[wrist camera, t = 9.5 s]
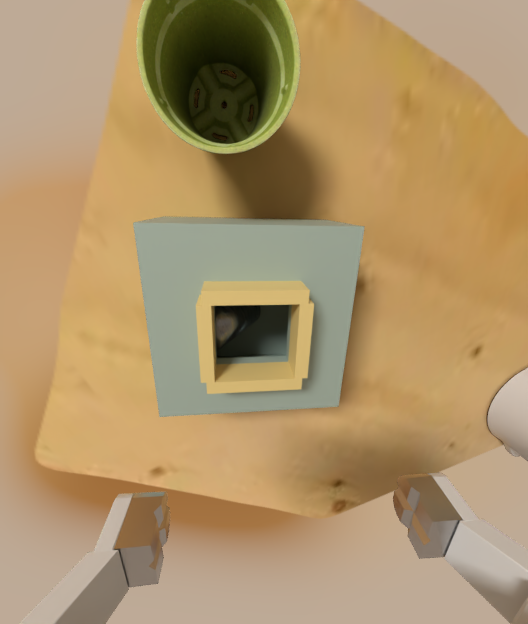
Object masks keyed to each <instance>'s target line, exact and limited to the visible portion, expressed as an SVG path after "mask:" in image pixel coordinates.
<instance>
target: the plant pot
mask: <svg viewBox="0 0 528 624" xmlns="http://www.w3.org/2000/svg"><path fill="white" fill-rule="evenodd" d="M137 58H138V65H139V71H140V75H141V79H142V82H143V85H144V88H145V91H146V93H147V95H148V97H149V99H150V101H151V103H152V105H153V107H154V109H155V110H156V112H157V113H158V115H159V116H160V118H161V119H162V120H163V122H164V123H165V124H166V125H167V126H168V127H169V128H170V129H171V130H172V131H173V132H174V133H175V134H176V135H177V136H178V137H180V138H181V139H182V140H184V141H185V142H187V143H189V144H190V145H192V146H194V147H196V148H199V149H201V150H203V151H207V152H211V153H217V154H235V153H240V152H245V151H248V150H250V149H253V148H255V147H257V146H259V145H261V144H262V143H264V142H265V141H266V140H268V139H269V138H270V137H271V136H272V135H273V134H274V133H275V132H276V131H277V130H278V129H279V128H280V126H281V125H282V124H283V122H284V121H285V119H286V117H287V116H288V114H289V112H290V110H291V107H292V105H293V102H294V99H295V96H296V93H297V89H298V83H299V77H300V48H299V41H298V36H297V31H296V28H295V24H294V21H293V18H292V15H291V13H290V11H289V9H288V6H287V4H286V2H285V0H144V3H143V5H142V8H141V11H140V16H139V21H138V28H137ZM223 70H229V71H232V72H234V73H235V74H236V75H237V78H233V77H230V76H228V75H224V74H223V73H222V74H221V73H220V72H221V71H223ZM196 89H199V90H200V93H199V98H198V108H196V107H195V106H194V101H195V97H194V94H195V91H196ZM222 102H226V103H227V107H226V109H223V108H222V107H221V105H222ZM251 104H252V105H253V106H254V112H253V118H252V121H250V122H248V118H249V114H250V105H251ZM212 133H216V134H218V135H221V136H227V137H228V139H227V140H225V141H223V140H220V139H216V138H214V137H213V135H212Z"/></svg>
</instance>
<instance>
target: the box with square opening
mask: <svg viewBox="0 0 528 624" xmlns="http://www.w3.org/2000/svg"><path fill="white" fill-rule="evenodd" d="M133 225H134V232H135V239H136V247H137V254H138V261H139V269H140V276H141V284H142V291H143V298H144V306H145V313H146V320H147V328H148V335H149V342H150V350H151V357H152V365H153V372H154V379H155V387H156V394H157V401H158V409H159V416H160V417H167V416H184V415H202V414H219V413H236V412H253V411H271V410H288V409H305V408H323V407H338V406H339V399H340V392H341V385H342V378H343V372H344V365H345V358H346V351H347V344H348V337H349V330H350V323H351V316H352V309H353V303H354V296H355V289H356V282H357V275H358V268H359V261H360V254H361V247H362V241H363V234H364V226H358V225H352V224H347V223H341V222H335V221H330V220H311V219H259V218H208V217H159V218H154V219H149V220H144V221H139V222H134V223H133ZM226 305H260V307H261V314H260V317H259V319H258V320H257V321H256V322H254V323H253V324H252V325H251V326H249V327H248V328H247V329H245V330H244V331H243V332H242V333H240V334H239V335H238V336H236V337H235V338H234V339H233V340H231V341H230V342H229V343H227V344H226V345H225V346H224V347H222V348H221V349H220V350H218V351H217V352H216V329H215V306H226Z"/></svg>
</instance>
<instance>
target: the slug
mask: <svg viewBox="0 0 528 624" xmlns="http://www.w3.org/2000/svg"><path fill="white" fill-rule="evenodd" d="M260 314H261V307H260V305H226V306H215V329H216V352H217V351H218V350H220V349H221V348H222V347H224V346H225V345H226V344H227V343H229V342H230V341H231V340H233V339H234V338H235V337H236V336H238V335H239V334H240V333H242V332H243V331H244V330H245V329H247V328H248V327H249V326H251V325H252V324H253V323H254V322H256V321H257V320H258V319H259V317H260Z"/></svg>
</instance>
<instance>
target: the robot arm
mask: <svg viewBox="0 0 528 624" xmlns="http://www.w3.org/2000/svg"><path fill="white" fill-rule="evenodd" d="M487 421H488V427H489V429H490V431H491V433H492V434H493V435H494V436H495V437H497V438H498V439H500V440H501V441H502V442H503V443H504V446H505V448H506V450H507V451H508V452H509V453H511V454H512V455H513V456H521V457H523V458H524V459H525V460H527V461H528V368H526V369H525V370H523V371H521V372H520V373H518V374H517V375H515V376H514V377H513V378H511V379H510V380H509V381H508V382H507V383H506V384H505V385H504V386H503V387H502V388H501V389H500V391H499V392H498V393H497V395H496V396H495V398H494V399H493V401H492V403H491V406H490V408H489V412H488V418H487ZM397 483H398V485H399V488H398V489H396V490H395V491H394V496H393V502H394V508H395V510H396V514H397V516H398V518H399V520H400V521H401V522H402V523H403V524H404V525H405V526H406V527H407V528H408V537H409V539H410V541H411V543H412V545H413V547H414V549H415V551H416V553H417V555H418V557H419V558H436V557H445V560H446V561H447V562H448V563H449V564H450V565H451V566H452V567H453V568H454V569H455V570H456V571H457V572H458V573H459V574H460V575H462V577H464V579H466V581H467V582H469V583H470V584H471V585H472V586H473V587H474V588H475V589H476V590H477V591H478V592H479V593H480V594H481V595H482V596H483V597H484V598H485V599H486V600H487V601H488V602H489V603H490V604H491V605H492V606H493V607H494V608H495V609H496V610H497V611H498V612H499V613H500V614H501V615H502V616H503V617H504V618H505V619H506V620H507V621H508V622H509V623H510V624H528V549H526V548H524V547H523V546H522V545H520V544H519V543H517V542H516V541H514V540H513V539H512V538H510V537H509V536H507V535H506V534H504V533H503V532H501V531H500V530H498V529H497V528H496V527H494V526H493V525H491V524H490V523H488V522H487V521H485V520H484V519H478V517H477V516H476V514H475V513H474V512H473V511H472V509H471V508H470V507H469V505H468V504H467V503H466V501H465V500H464V499H463V498H462V496H461V495H460V494H459V492H458V491H457V490H456V488H455V487H454V486H453V485H452V483H451V482H450V481H449V479H448V478H447V477H446V476H445V475H444V474H443V473H428V474H427V473H421V474H410V475H401V476H400V477H398V480H397ZM167 501H168V496H167V492H148V493H127V494H119V495H118V496H117V497H116V499H115V501H114V503H113V506H112V508H111V510H110V513H109V515H108V517H107V520H106V522H105V525H104V527H103V530H102V532H101V535H100V537H99V539H98V542H97V544H96V547H95V549H94V552H88V553H87V554H86V555H85V556H84V557H83V558H82V559H81V560H80V562H78V563H77V564H76V566H75V567H73V569H72V570H71V571H70V572H69V573H68V574H67V575H66V576H65V577H64V578H63V579H62V580H61V581H60V582H59V583H58V584H57V585H56V586H55V587H54V588H53V589H52V590H51V591H50V592H49V593H48V594H47V595H46V597H44V599H43V600H42V601H41V602H40V603H39V604H38V605H37V606H36V607H35V608H34V609H33V610H32V611H31V612H30V613H29V614H28V615H27V616H26V617H25V618H24V619H23V620H22V621H21V622H20V623H19V624H106V622H107V621H108V619H109V618H110V616H111V615H112V613H113V612H114V610H115V609H116V608H117V606H118V604H119V603H120V602H121V600H122V599H123V597H124V596H125V594H126V593H127V591H128V590H129V588H128V587H135V586H143V585H151V584H158V581H159V577H160V572H161V567H162V563H163V558H164V557H163V551H162V547H163V545H164V544H165V543H166V542H167V538H168V533H169V526H170V508H169V507H168V506H167Z"/></svg>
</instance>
